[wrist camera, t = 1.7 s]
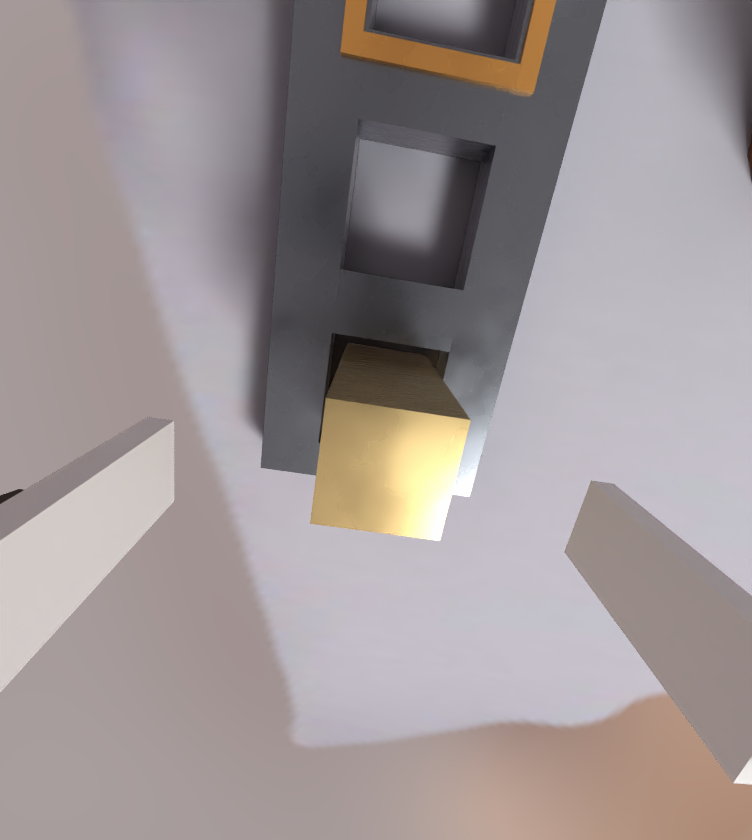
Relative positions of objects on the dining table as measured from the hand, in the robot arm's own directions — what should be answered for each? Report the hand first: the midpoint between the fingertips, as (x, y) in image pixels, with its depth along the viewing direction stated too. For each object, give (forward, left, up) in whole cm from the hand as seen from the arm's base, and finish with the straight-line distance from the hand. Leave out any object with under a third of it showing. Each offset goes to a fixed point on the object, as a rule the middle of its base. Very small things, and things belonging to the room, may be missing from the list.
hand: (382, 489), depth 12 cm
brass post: (0, 0, -12) cm, 12 cm away
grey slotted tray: (-9, 0, -11) cm, 15 cm away
